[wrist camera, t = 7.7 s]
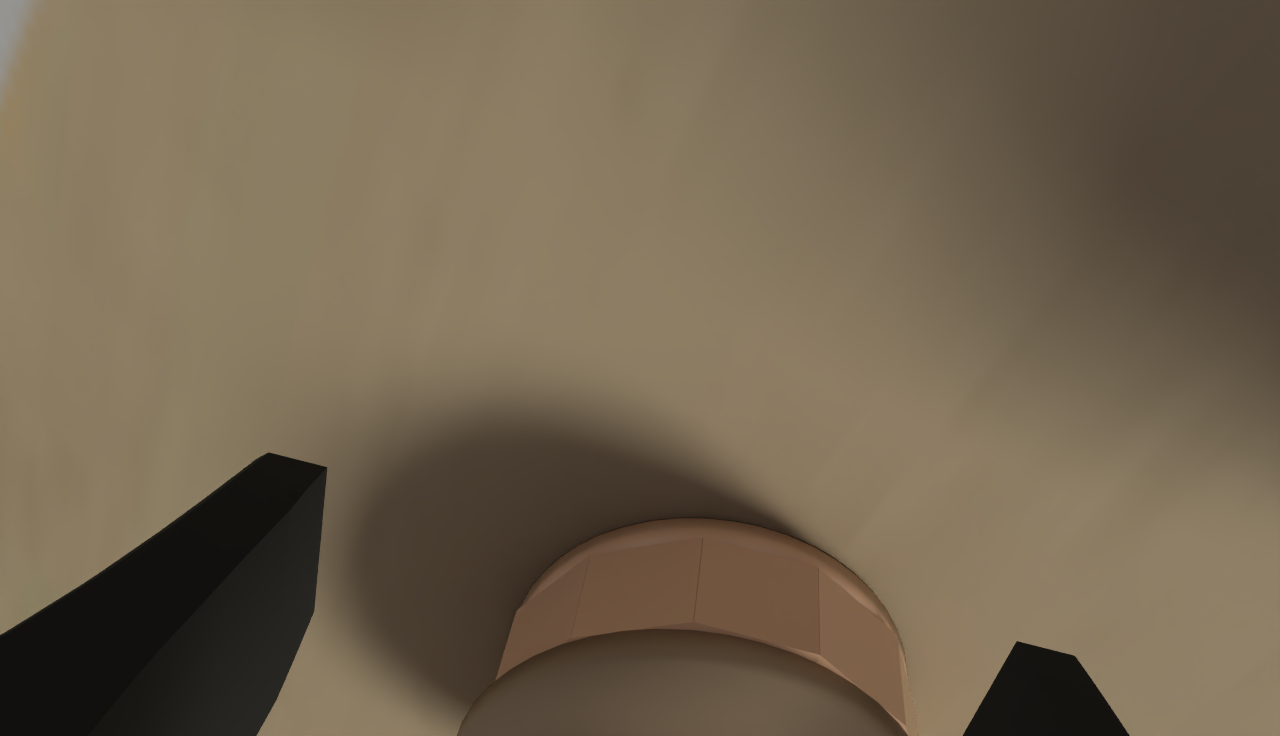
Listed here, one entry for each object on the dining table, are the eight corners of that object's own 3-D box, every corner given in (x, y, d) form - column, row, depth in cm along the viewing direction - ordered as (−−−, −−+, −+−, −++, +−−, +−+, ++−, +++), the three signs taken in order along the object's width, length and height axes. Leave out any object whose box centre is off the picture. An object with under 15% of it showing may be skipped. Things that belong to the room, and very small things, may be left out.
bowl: (970, 582, 24) (991, 700, 21) (831, 838, 28) (834, 961, 26) (552, 471, 23) (519, 576, 21) (483, 748, 28) (450, 862, 25)
